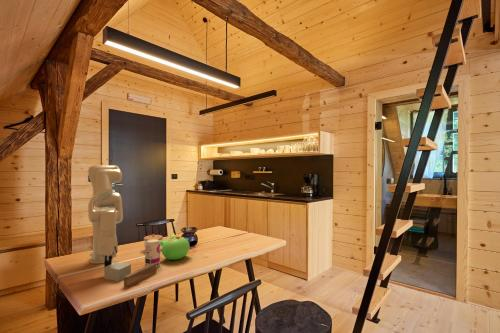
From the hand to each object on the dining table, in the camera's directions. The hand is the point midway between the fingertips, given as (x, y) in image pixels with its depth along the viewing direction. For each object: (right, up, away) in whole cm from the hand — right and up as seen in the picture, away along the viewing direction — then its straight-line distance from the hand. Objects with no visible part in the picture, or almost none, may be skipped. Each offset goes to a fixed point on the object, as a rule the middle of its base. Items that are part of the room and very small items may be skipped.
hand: (107, 267), depth 144 cm
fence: (+20, -4, -5) cm, 21 cm away
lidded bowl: (+9, -5, +44) cm, 45 cm away
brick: (+6, -5, -2) cm, 8 cm away
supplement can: (+19, -5, +13) cm, 24 cm away
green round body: (+29, -5, +27) cm, 39 cm away
